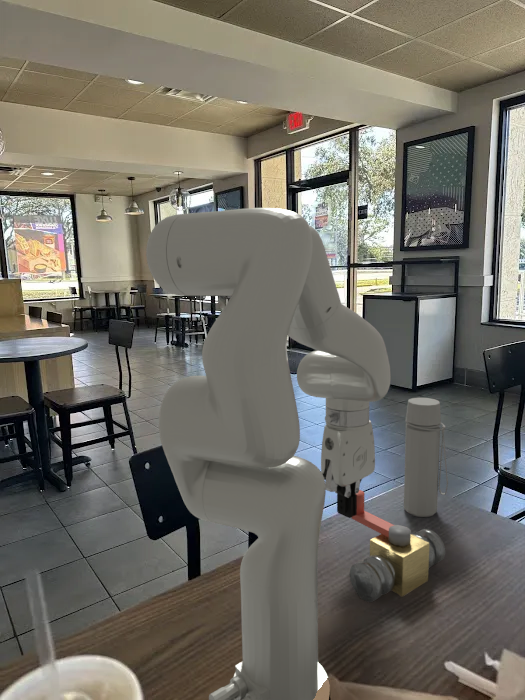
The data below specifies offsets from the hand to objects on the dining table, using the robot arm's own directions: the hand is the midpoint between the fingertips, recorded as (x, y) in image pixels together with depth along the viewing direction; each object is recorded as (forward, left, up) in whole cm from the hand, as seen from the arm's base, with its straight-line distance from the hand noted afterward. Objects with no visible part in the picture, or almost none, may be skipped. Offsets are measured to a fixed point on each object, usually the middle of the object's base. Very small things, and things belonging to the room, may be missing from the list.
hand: (346, 513), depth 91 cm
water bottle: (+28, +3, -10) cm, 30 cm away
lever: (+4, -4, -3) cm, 6 cm away
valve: (+4, -9, -10) cm, 14 cm away
